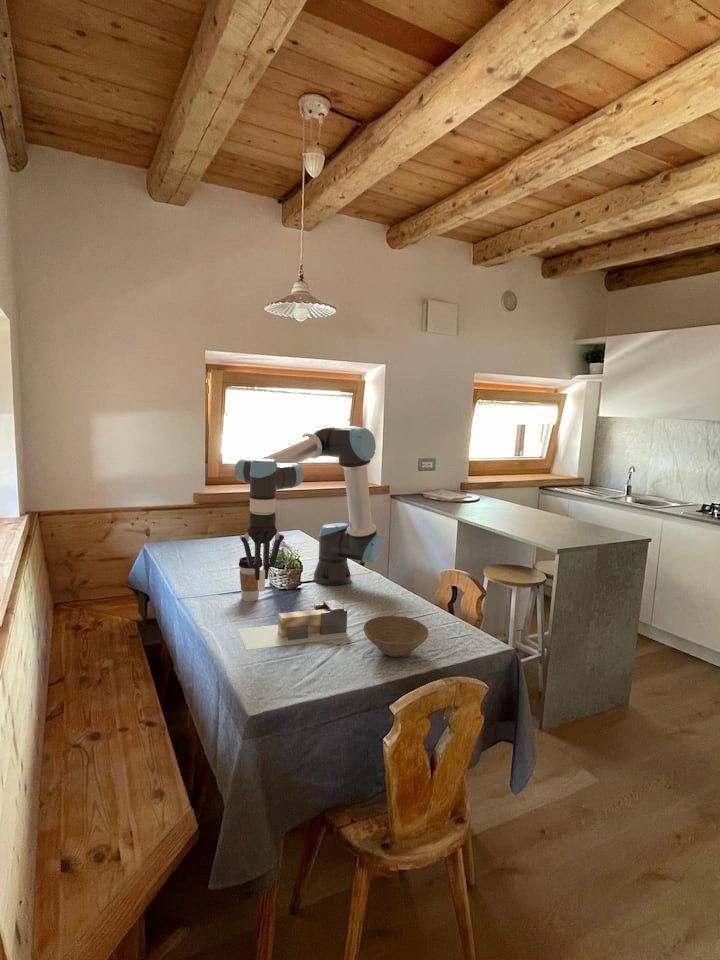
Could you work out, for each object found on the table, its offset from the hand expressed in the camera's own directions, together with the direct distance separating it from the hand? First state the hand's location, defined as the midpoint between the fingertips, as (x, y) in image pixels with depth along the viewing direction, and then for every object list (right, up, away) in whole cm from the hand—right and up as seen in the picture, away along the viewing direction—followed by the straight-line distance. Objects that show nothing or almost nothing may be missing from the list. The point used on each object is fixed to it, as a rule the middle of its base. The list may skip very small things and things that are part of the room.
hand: (261, 589), depth 158 cm
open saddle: (+9, -14, +5) cm, 18 cm away
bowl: (+39, -18, -5) cm, 43 cm away
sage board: (+9, -15, +5) cm, 18 cm away
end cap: (+19, -14, +9) cm, 26 cm away
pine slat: (+13, -14, +7) cm, 21 cm away
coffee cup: (-10, -10, +34) cm, 37 cm away
